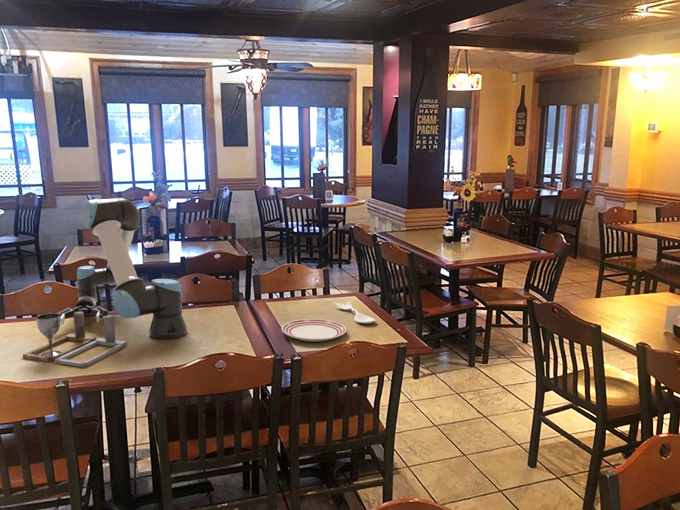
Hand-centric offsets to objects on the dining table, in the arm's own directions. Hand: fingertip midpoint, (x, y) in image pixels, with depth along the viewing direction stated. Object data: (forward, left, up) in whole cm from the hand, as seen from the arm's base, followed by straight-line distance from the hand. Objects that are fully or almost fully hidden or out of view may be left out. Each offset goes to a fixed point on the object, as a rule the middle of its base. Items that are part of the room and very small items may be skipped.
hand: (79, 320), depth 239 cm
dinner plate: (-90, -35, -7) cm, 97 cm away
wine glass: (-4, +20, -7) cm, 21 cm away
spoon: (-99, -67, -7) cm, 119 cm away
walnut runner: (-4, +15, -7) cm, 17 cm away
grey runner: (-18, +15, -7) cm, 24 cm away
